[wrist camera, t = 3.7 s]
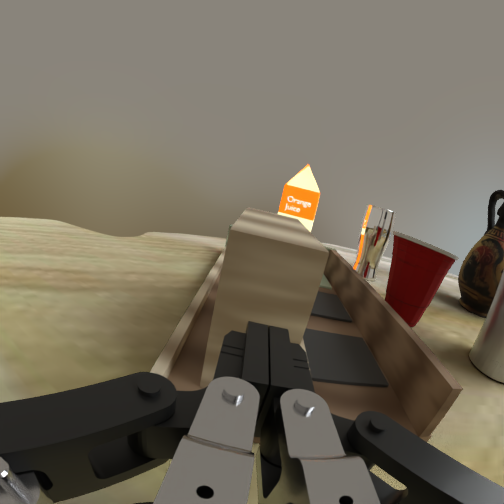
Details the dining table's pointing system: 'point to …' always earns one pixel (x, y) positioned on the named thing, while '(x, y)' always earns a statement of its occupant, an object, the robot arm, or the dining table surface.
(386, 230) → the beer glass
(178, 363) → the board
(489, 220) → the ceramic jug
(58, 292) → the dining table surface
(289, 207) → the orange juice
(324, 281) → the pad
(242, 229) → the beech block
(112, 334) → the dining table surface
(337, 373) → the pads
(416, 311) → the plastic cup
